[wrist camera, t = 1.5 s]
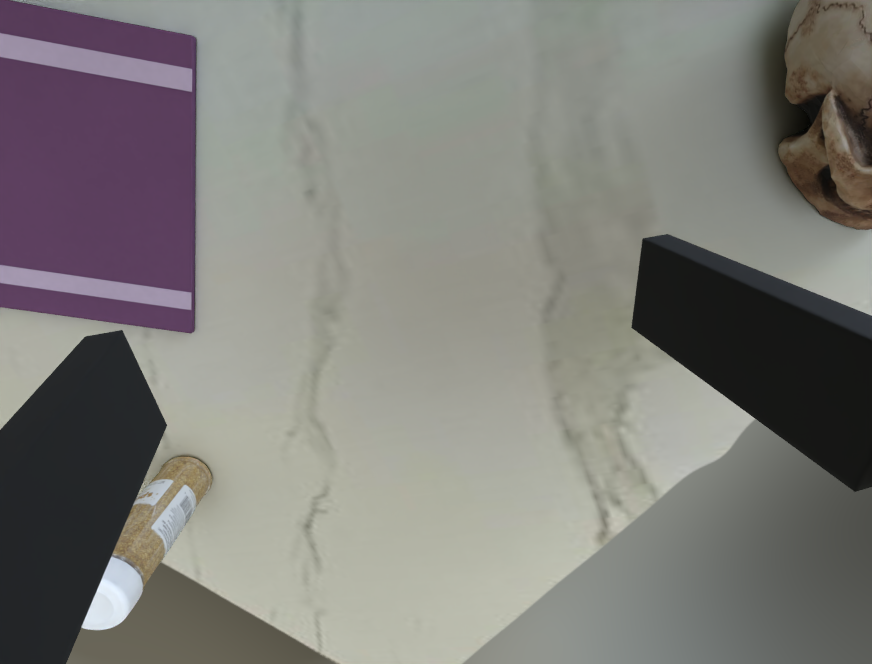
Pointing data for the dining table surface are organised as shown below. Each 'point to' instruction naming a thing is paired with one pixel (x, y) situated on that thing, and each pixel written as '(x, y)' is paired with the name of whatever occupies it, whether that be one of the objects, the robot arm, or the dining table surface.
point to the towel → (97, 168)
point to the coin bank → (832, 107)
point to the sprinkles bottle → (147, 538)
